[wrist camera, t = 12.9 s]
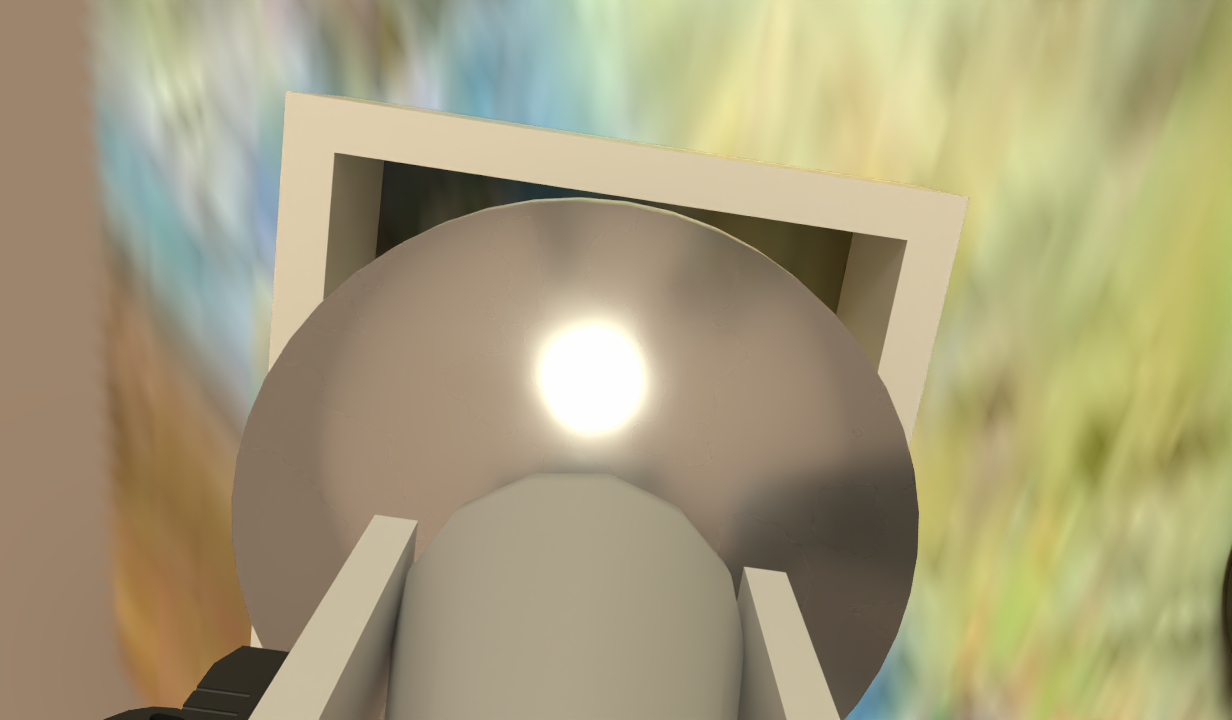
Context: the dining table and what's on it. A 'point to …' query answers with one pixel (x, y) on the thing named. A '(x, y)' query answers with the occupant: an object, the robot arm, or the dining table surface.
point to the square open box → (376, 131)
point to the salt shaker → (567, 611)
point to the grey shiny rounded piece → (585, 412)
